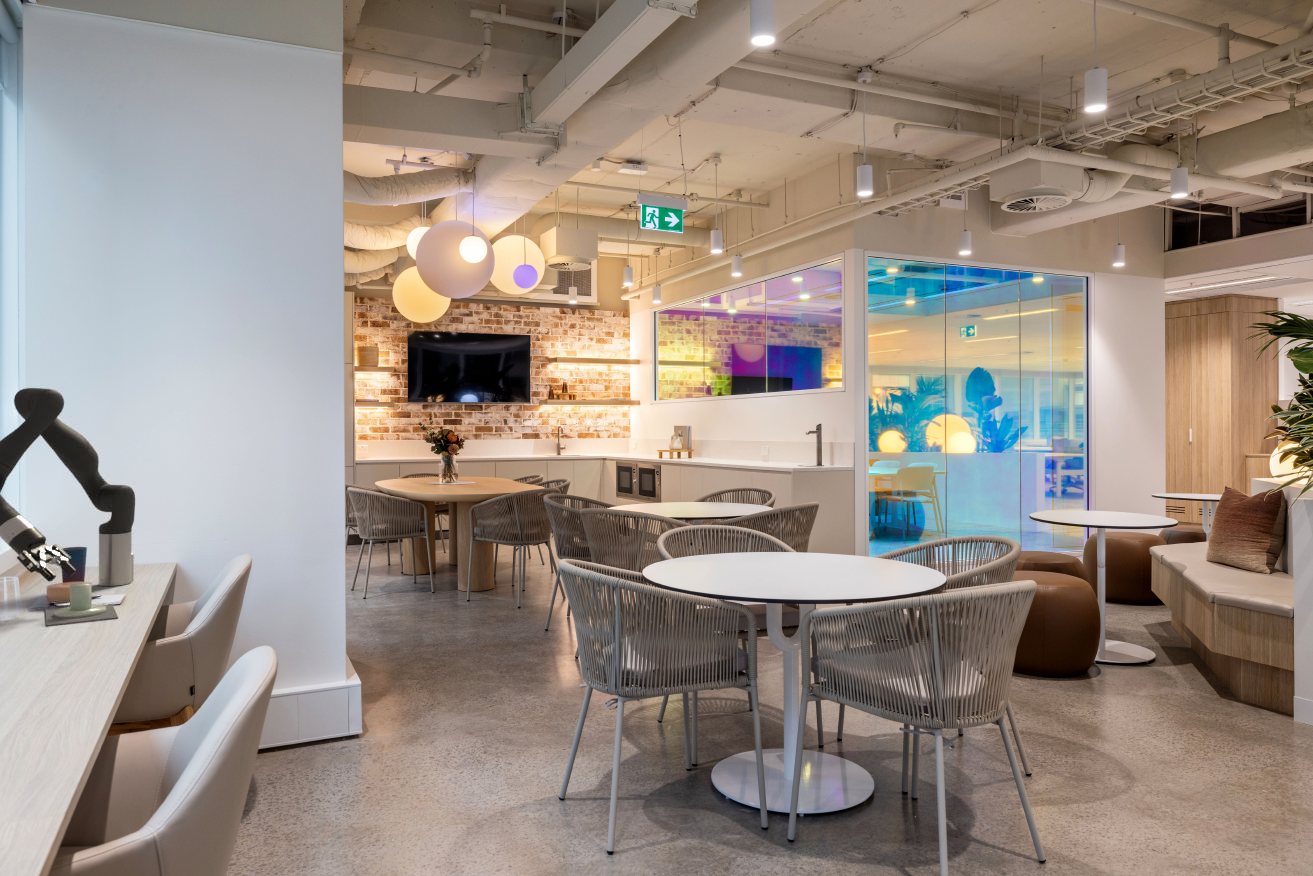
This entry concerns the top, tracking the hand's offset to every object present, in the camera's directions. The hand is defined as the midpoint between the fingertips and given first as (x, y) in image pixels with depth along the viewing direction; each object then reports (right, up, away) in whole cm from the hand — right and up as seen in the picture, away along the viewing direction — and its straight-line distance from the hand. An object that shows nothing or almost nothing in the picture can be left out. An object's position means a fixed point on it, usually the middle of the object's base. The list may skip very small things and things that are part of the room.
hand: (63, 576), depth 235 cm
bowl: (-8, -10, +14) cm, 20 cm away
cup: (-14, -10, +24) cm, 30 cm away
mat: (+5, -11, 0) cm, 12 cm away
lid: (+5, -10, 0) cm, 11 cm away
